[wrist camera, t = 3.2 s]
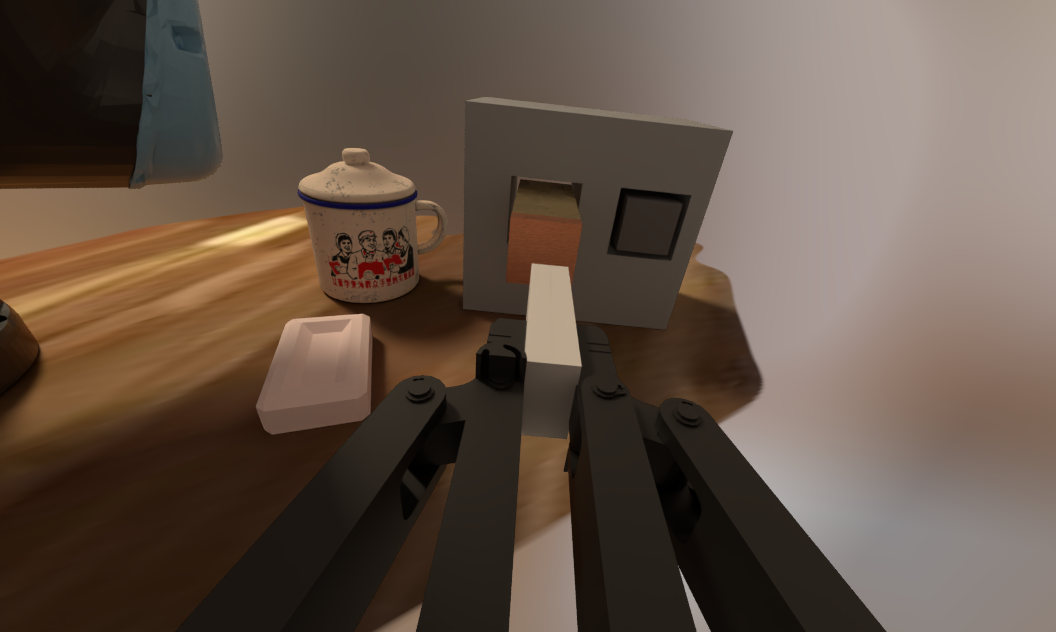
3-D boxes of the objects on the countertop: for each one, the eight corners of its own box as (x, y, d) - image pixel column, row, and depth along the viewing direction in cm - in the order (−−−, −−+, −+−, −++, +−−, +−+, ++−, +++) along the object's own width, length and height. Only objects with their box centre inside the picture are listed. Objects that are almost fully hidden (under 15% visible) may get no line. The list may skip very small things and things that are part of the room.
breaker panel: (462, 311, 33) (464, 101, 25) (479, 263, 42) (485, 96, 34) (667, 332, 34) (735, 131, 25) (641, 280, 43) (686, 119, 34)
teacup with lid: (325, 315, 31) (294, 161, 25) (311, 269, 37) (283, 138, 31) (464, 290, 37) (466, 161, 31) (431, 254, 43) (427, 142, 37)
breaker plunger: (505, 282, 23) (510, 217, 21) (516, 229, 32) (520, 179, 30) (571, 288, 23) (582, 224, 21) (564, 234, 32) (571, 184, 30)
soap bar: (263, 440, 21) (251, 407, 19) (293, 344, 28) (286, 315, 27) (371, 423, 22) (365, 392, 21) (373, 336, 30) (369, 309, 28)
